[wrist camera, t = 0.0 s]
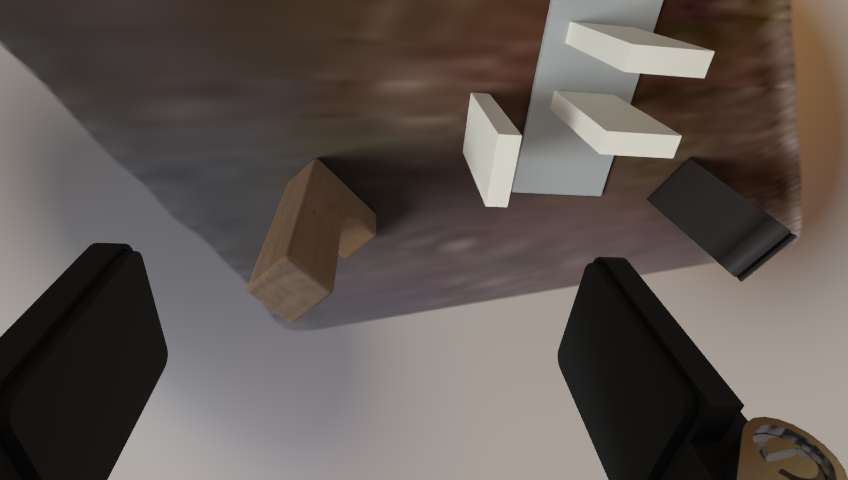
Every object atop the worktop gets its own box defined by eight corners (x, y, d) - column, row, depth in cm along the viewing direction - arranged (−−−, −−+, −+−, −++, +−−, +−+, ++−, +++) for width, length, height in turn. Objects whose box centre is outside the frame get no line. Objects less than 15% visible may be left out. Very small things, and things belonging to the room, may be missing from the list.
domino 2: (570, 21, 41) (632, 44, 31) (633, 27, 42) (714, 51, 32) (565, 43, 42) (624, 72, 32) (627, 48, 43) (704, 78, 33)
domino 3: (554, 89, 44) (606, 131, 34) (613, 94, 45) (682, 135, 35) (550, 108, 45) (599, 154, 35) (608, 112, 46) (673, 158, 36)
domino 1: (462, 151, 48) (485, 206, 37) (470, 92, 44) (498, 134, 34) (479, 152, 48) (507, 207, 38) (489, 93, 45) (522, 135, 35)
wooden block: (378, 214, 51) (378, 327, 35) (348, 238, 52) (335, 357, 37) (316, 155, 46) (286, 255, 31) (285, 182, 48) (242, 291, 32)
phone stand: (645, 198, 52) (709, 257, 42) (688, 156, 50) (767, 208, 40) (692, 235, 56) (763, 299, 46) (735, 198, 53) (819, 256, 43)
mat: (586, -174, 35) (589, -176, 34) (709, -156, 36) (713, -158, 36) (511, 190, 50) (512, 192, 50) (599, 194, 52) (600, 196, 51)
